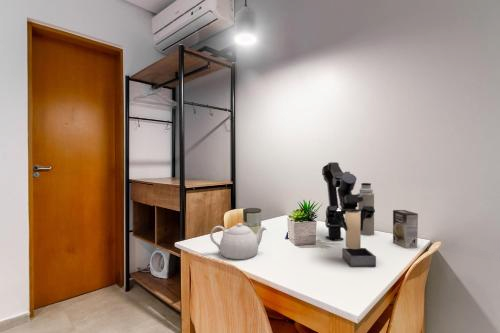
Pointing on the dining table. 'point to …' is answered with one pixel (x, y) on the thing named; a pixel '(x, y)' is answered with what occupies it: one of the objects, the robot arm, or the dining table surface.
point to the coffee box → (405, 228)
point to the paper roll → (353, 229)
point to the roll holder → (359, 257)
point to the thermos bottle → (367, 201)
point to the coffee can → (252, 219)
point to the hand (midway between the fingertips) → (354, 230)
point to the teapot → (238, 241)
